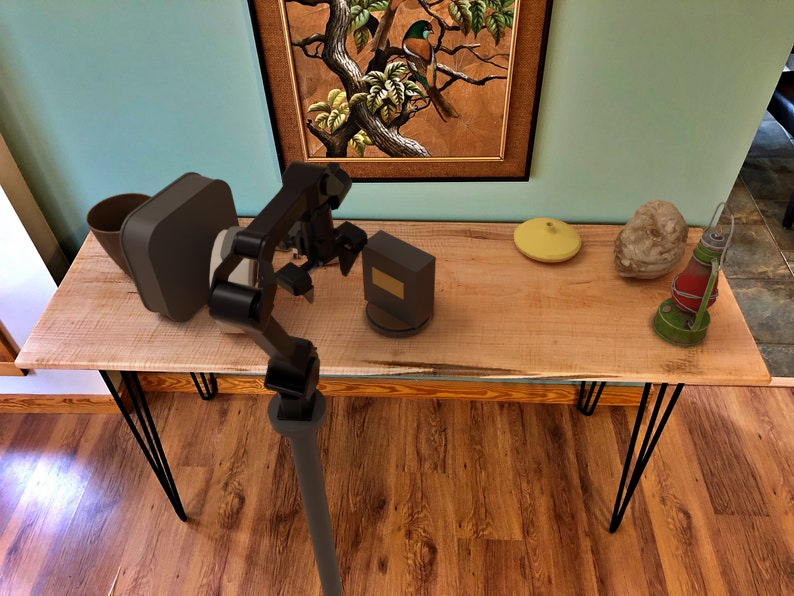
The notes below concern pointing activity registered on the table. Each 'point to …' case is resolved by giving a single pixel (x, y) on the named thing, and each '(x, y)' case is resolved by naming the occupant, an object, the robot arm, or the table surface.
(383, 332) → the turntable base
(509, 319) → the table surface
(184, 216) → the speaker
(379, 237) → the dark upright block
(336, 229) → the robot arm
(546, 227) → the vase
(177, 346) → the table surface
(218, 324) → the alarm clock
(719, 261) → the lantern
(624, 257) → the rock
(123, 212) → the flower pot
